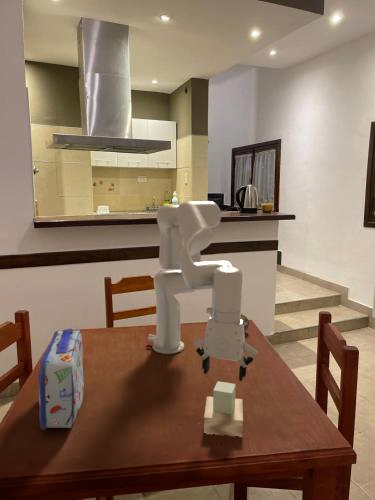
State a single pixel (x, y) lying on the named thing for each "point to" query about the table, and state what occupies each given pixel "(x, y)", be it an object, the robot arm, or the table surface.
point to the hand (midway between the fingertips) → (223, 375)
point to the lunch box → (61, 380)
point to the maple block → (224, 420)
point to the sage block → (224, 397)
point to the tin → (245, 322)
